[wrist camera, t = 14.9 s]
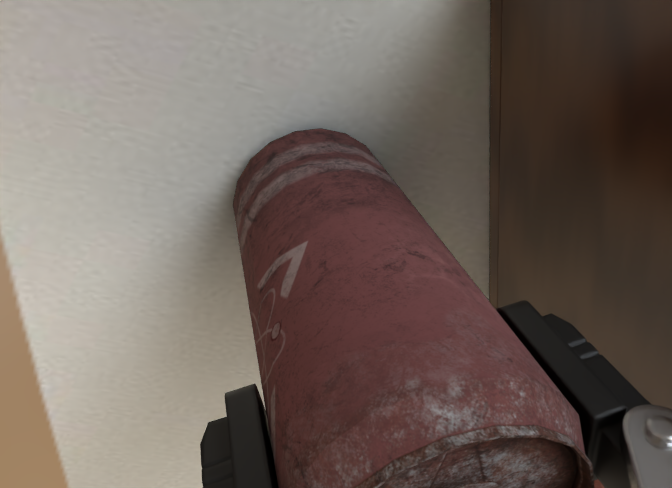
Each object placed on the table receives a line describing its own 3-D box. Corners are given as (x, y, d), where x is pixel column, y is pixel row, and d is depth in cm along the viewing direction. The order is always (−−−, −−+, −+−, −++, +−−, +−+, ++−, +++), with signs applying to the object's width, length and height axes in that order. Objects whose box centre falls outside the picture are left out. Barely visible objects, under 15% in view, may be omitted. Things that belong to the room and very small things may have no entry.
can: (302, 288, 23) (417, 657, 12) (199, 195, 20) (215, 587, 8) (411, 204, 22) (655, 514, 11) (323, 89, 19) (542, 365, 7)
